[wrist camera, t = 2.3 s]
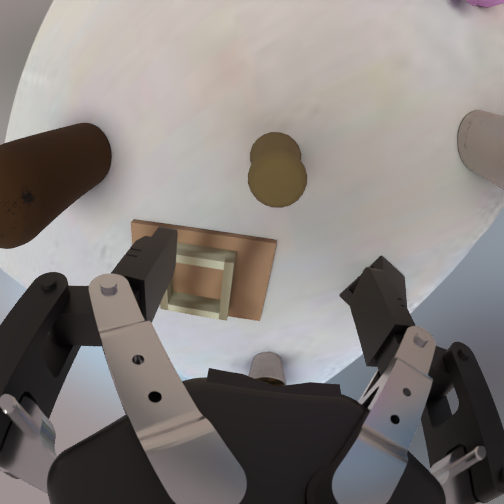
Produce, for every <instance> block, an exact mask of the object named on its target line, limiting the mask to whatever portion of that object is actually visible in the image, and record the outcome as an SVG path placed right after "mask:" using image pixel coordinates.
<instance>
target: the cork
mask: <svg viewBox="0 0 504 504" xmlns="http://www.w3.org/2000/svg"><path fill="white" fill-rule="evenodd" d="M250 161H251V167H250V170H249V173H248V184H249V187H250V190H251V192H252V194H253V195H254V196H255V197H256V199H257V200H258V201H260V202H261V203H263V204H264V205H267V206H270V207H281V208H282V207H285V206H289V205H291V204H293V203H294V202H296V201H297V200H298V199H299V198H300V197H301V196H302V194H303V192H304V190H305V187H306V185H307V174H306V170H305V167H304V165H303V164H302V162H301V152H300V149H299V146H298V145H297V143H296V142H295V140H294V139H292V138H291V137H290V136H288V135H286V134H283V133H279V132H271V133H268V134H265V135H263V136H261V137H260V138H258V139H257V140H256V142H255V143H254V144H253V146H252V149H251V152H250Z"/></svg>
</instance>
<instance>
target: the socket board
mask: <svg viewBox="0 0 504 504" xmlns="http://www.w3.org/2000/svg"><path fill="white" fill-rule="evenodd" d="M159 226H161V227H166V228H172V229H177V231H178V237H177V253H176V266H175V271H174V274H173V277H172V279H171V281H170V283H169V285H168V288H167V290H166V292H165V294H164V296H163V298H162V301H161V303H160V306H161V309H165V310H170V311H175V312H180V313H186V314H191V315H197V316H203V317H209V318H215V319H221V320H227V317H228V316H230V317H237V318H244V319H251V320H258V321H260V318H261V313H262V309H263V304H264V300H265V295H266V291H267V286H268V281H269V277H270V272H271V267H272V263H273V258H274V253H275V249H276V240H272V239H265V238H259V237H252V236H246V235H239V234H232V233H226V232H219V231H212V230H205V229H198V228H192V227H185V226H178V225H170V224H163V223H156V222H149V221H142V220H133V221H132V222H131V231H132V245H133V244H134V242H135V241H136V240H138V239H140V238H142V237H144V236H150V237H152V235H153V234H154V232H155V231H156V230H157V228H158V227H159Z"/></svg>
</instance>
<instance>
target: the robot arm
mask: <svg viewBox="0 0 504 504" xmlns="http://www.w3.org/2000/svg"><path fill="white" fill-rule="evenodd" d="M458 149H459V153H460V156H461V159H462V161H463V163H464V164H465V165H466V166H467V167H468V168H469V169H470V170H472V171H473V172H475V173H477V174H479V175H481V176H482V177H484V178H486V179H487V180H489V181H491V182H492V183H494V184H496V185H497V186H499V187H500V188H502V189H504V117H503V116H500V115H496V114H493V113H489V112H484V111H473V112H471V113H469V114H468V115H467V116H466V117H465V118H464V119H463V121H462V123H461V125H460V128H459V132H458ZM177 237H178V231H177V229H172V228H166V227H161V226H159V227H158V228H157V230H156V231H155V232H154V234H153V235H152V237H150V236H144V237H142V238H140V239H138V240H136V241H135V242H134V244H133V245H132V246H131V248H130V249H129V250H128V251H127V253H126V255H124V257H123V258H122V259H121V260H120V262H119V263H118V264H117V266H116V267H115V268H114V270H113V271H112V272H111V274H103V275H100V276H98V277H96V278H94V279H93V280H92V281H91V283H90V285H89V286H68V281H67V278H66V277H65V276H64V275H63V274H61V273H57V272H49V273H45V274H43V275H41V276H39V277H38V278H36V279H35V280H34V282H33V283H32V284H31V285H30V286H29V288H28V289H27V290H26V292H25V293H24V294H23V295H22V297H21V298H20V299H19V300H18V302H17V303H16V304H15V306H14V307H13V308H12V310H11V311H10V312H9V314H8V315H7V317H6V318H5V319H4V321H3V322H2V324H1V325H0V471H2V472H4V473H6V474H7V475H9V476H11V477H13V478H15V479H21V480H23V481H25V482H27V483H28V484H30V485H32V486H34V487H36V488H38V489H40V490H42V491H43V492H45V493H48V496H49V500H50V504H485V503H487V502H489V501H491V500H493V499H495V498H497V497H499V496H500V495H502V494H504V430H503V426H502V423H501V420H500V418H499V414H498V412H497V409H496V406H495V404H494V401H493V398H492V396H491V393H490V390H489V388H488V386H487V383H486V381H485V378H484V376H483V374H482V371H481V369H480V367H479V365H478V362H477V360H476V358H475V356H474V354H473V352H472V351H471V349H470V348H469V347H467V346H466V345H465V344H463V343H461V342H454V343H453V344H452V345H451V346H450V347H449V349H448V350H446V349H443V348H440V347H438V346H436V344H435V340H434V338H433V337H432V335H431V334H430V333H429V332H427V331H426V330H425V329H423V328H421V327H418V326H415V324H414V322H413V319H412V317H411V316H410V313H409V311H408V309H407V307H405V306H406V305H405V303H404V301H403V300H402V297H401V295H400V293H399V292H398V290H397V289H396V288H395V287H394V286H393V285H392V284H391V283H390V282H389V280H388V279H387V277H386V275H385V273H384V271H383V270H379V269H374V268H369V267H367V268H365V269H364V271H363V273H362V275H361V277H360V280H359V282H358V284H357V286H356V288H355V290H354V292H353V295H352V297H351V302H350V308H351V312H352V315H353V319H354V322H355V326H356V329H357V333H358V336H359V340H360V343H361V347H362V351H363V354H364V358H365V362H366V365H367V366H374V367H378V370H377V372H376V373H375V375H374V376H373V378H372V380H371V381H370V383H369V385H368V386H367V388H366V390H365V392H364V393H363V395H362V396H361V398H360V399H359V401H358V402H357V401H356V400H354V399H352V398H350V397H347V396H345V395H342V394H341V390H340V385H339V384H324V383H311V382H309V383H302V384H294V385H286V386H275V385H271V384H269V383H266V382H263V381H260V380H257V379H255V378H252V377H249V376H246V375H244V374H239V373H233V372H227V371H221V370H216V369H211V368H209V371H208V376H207V378H194V379H189V380H185V381H181V379H180V377H179V376H178V374H177V372H176V370H175V368H174V366H173V365H172V363H171V361H170V359H169V357H168V355H167V353H166V351H165V349H164V347H163V345H162V343H161V341H160V339H159V337H158V335H157V333H156V331H155V329H154V327H153V325H152V321H153V318H154V316H155V314H156V312H157V309H158V307H159V305H160V303H161V301H162V298H163V296H164V294H165V292H166V290H167V288H168V285H169V283H170V281H171V279H172V277H173V274H174V271H175V266H176V253H177ZM81 346H102V348H103V351H104V354H105V358H106V361H107V364H108V367H109V370H110V373H111V376H112V379H113V382H114V385H115V387H116V390H117V393H118V395H119V398H120V400H121V403H122V406H123V409H124V411H125V413H126V415H124V416H123V417H121V418H120V419H118V420H116V421H115V422H113V423H111V424H110V425H108V426H106V427H105V428H103V429H101V430H100V431H98V432H96V433H95V434H93V435H91V436H89V437H88V438H86V439H84V440H82V441H81V442H79V443H77V444H75V445H73V446H72V447H70V448H68V449H66V450H64V451H63V452H62V453H61V454H59V456H58V457H57V456H56V453H55V448H54V447H55V446H54V444H55V438H56V434H55V429H54V426H53V424H52V423H51V421H50V420H49V417H50V415H51V412H52V409H53V407H54V405H55V402H56V400H57V397H58V394H59V393H60V390H61V388H62V385H63V383H64V381H65V379H66V376H67V374H68V372H69V370H70V368H71V365H72V363H73V361H74V359H75V357H76V355H77V353H78V351H79V349H80V347H81ZM453 388H455V391H456V394H457V396H458V399H459V407H458V410H457V411H456V413H455V414H453V415H452V413H451V410H450V406H449V403H448V400H447V397H446V395H447V394H448V392H450V391H451V390H452V389H453ZM420 419H421V421H422V426H423V431H424V436H425V440H426V445H427V450H428V456H429V462H430V468H431V469H430V472H429V471H428V470H427V469H426V468H425V467H424V466H423V465H422V464H421V463H420V462H419V461H418V460H417V459H416V458H415V457H414V456H413V455H412V454H411V453H410V452H409V451H408V449H409V447H410V444H411V442H412V439H413V437H414V434H415V432H416V429H417V427H418V424H419V421H420Z"/></svg>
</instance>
